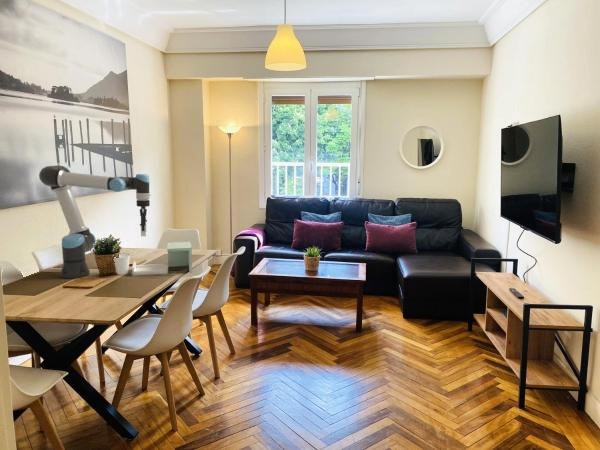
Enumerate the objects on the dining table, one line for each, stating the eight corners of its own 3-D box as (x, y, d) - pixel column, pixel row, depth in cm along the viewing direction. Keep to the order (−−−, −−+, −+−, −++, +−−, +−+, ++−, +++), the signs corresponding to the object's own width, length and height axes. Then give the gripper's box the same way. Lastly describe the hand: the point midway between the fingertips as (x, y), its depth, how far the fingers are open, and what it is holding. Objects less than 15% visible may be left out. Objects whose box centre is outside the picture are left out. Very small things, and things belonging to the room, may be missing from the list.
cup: (134, 271, 267) (133, 254, 265) (126, 276, 257) (125, 257, 255) (118, 271, 268) (117, 253, 266) (110, 275, 258) (109, 257, 256)
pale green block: (168, 274, 262) (167, 248, 260) (168, 266, 280) (167, 242, 278) (192, 273, 266) (191, 247, 264) (190, 265, 284) (190, 241, 282)
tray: (132, 275, 257) (131, 267, 256) (134, 269, 272) (134, 261, 272) (168, 273, 263) (167, 265, 262) (168, 267, 278) (168, 259, 277)
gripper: (149, 201, 257) (149, 237, 260) (149, 197, 280) (150, 230, 284) (135, 201, 255) (136, 238, 258) (137, 197, 278) (137, 230, 281)
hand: (143, 234), depth 271 cm, fingers open, 13 cm apart
